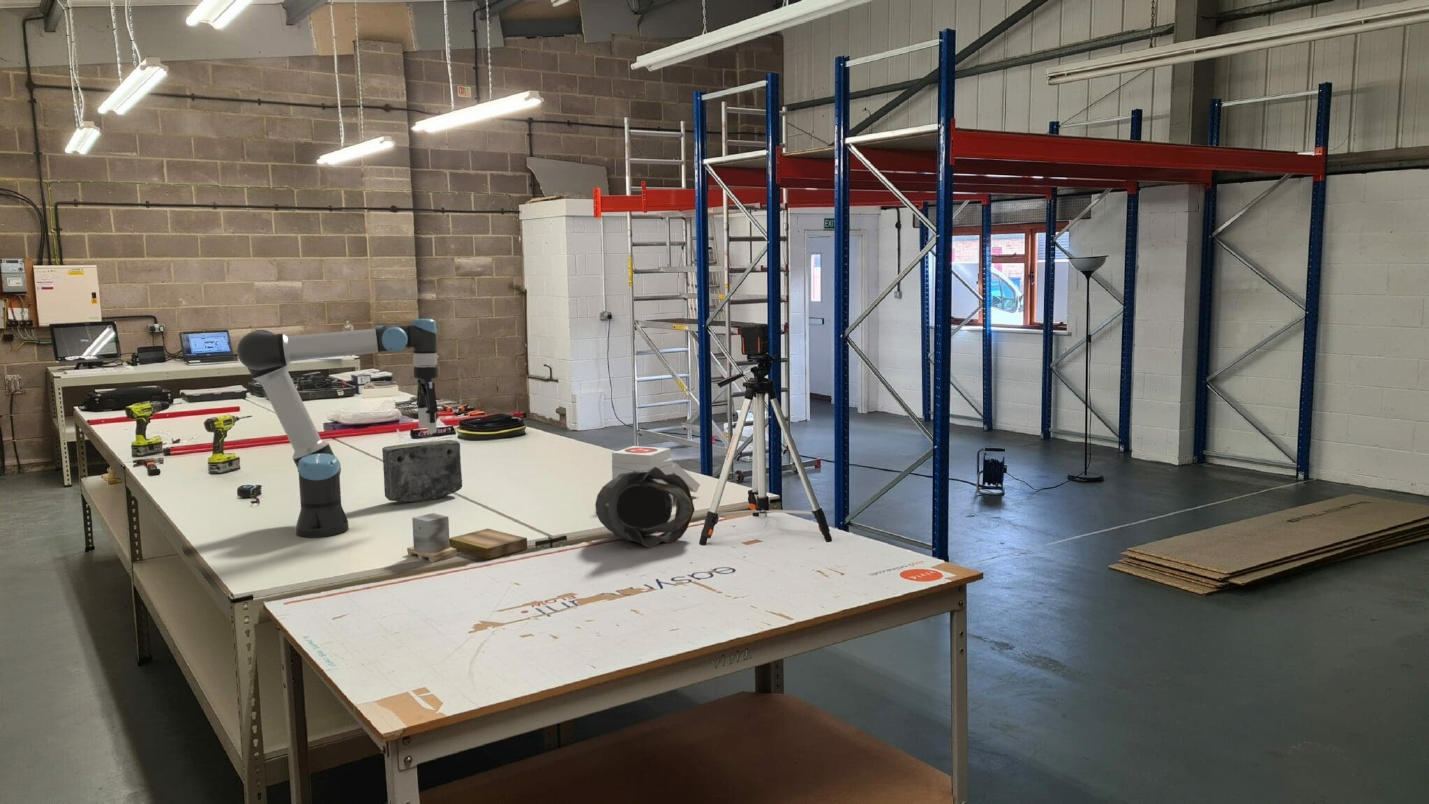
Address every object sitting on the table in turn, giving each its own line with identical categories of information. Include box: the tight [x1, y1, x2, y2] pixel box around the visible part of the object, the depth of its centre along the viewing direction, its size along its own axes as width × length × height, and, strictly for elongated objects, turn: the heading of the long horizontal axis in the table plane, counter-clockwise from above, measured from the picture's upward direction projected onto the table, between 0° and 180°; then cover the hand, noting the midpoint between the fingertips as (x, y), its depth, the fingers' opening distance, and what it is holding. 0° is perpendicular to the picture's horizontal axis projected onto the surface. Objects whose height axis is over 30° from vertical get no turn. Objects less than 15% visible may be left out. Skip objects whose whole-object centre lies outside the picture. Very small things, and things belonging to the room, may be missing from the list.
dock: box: [449, 528, 528, 560], centre depth 282 cm, size 14×18×3 cm
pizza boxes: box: [611, 445, 701, 503], centre depth 343 cm, size 19×30×18 cm, turn 135°
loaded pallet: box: [406, 512, 458, 563], centre depth 275 cm, size 8×12×11 cm, turn 51°
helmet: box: [595, 467, 695, 549], centre depth 290 cm, size 23×32×25 cm
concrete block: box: [382, 439, 463, 503], centre depth 345 cm, size 27×9×20 cm, turn 125°
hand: (427, 430), depth 324 cm, fingers open, 13 cm apart
